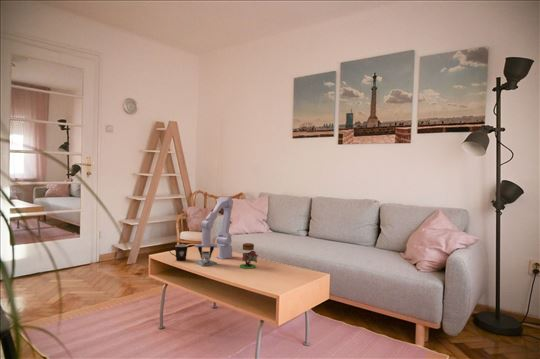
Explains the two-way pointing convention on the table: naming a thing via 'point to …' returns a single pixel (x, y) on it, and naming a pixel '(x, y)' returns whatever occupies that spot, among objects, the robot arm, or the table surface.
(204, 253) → the elbow
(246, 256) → the miniature tree model
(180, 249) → the coffee mug
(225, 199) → the robot arm
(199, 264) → the panel
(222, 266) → the table surface
